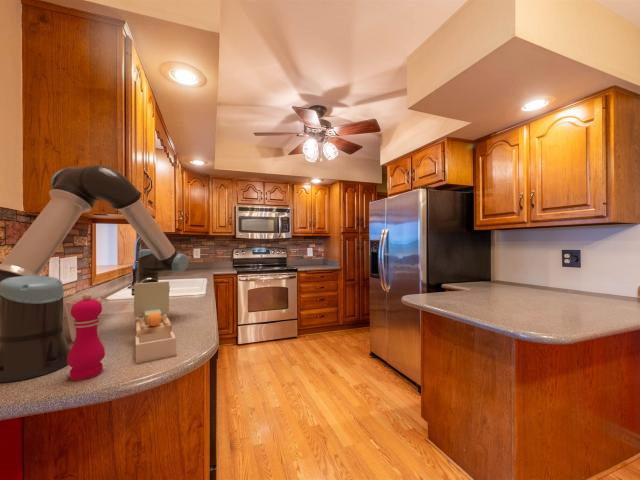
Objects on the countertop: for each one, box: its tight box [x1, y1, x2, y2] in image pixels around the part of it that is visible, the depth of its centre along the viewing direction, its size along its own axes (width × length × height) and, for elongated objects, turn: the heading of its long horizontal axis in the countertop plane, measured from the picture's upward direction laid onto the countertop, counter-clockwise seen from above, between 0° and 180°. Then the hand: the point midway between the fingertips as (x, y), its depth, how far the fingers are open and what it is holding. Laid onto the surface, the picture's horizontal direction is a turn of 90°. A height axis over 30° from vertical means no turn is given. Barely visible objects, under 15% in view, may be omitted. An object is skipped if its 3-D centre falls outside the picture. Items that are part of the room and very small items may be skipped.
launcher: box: [135, 313, 173, 336], centre depth 91 cm, size 9×17×8 cm, turn 34°
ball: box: [147, 313, 162, 326], centre depth 86 cm, size 4×4×4 cm
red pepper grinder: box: [64, 297, 103, 343], centre depth 96 cm, size 10×9×13 cm
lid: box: [133, 280, 170, 324], centre depth 92 cm, size 10×8×12 cm
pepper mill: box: [67, 292, 106, 381], centre depth 70 cm, size 7×7×20 cm
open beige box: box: [134, 329, 177, 365], centre depth 82 cm, size 10×10×5 cm
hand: (154, 297), depth 96 cm, fingers closed
